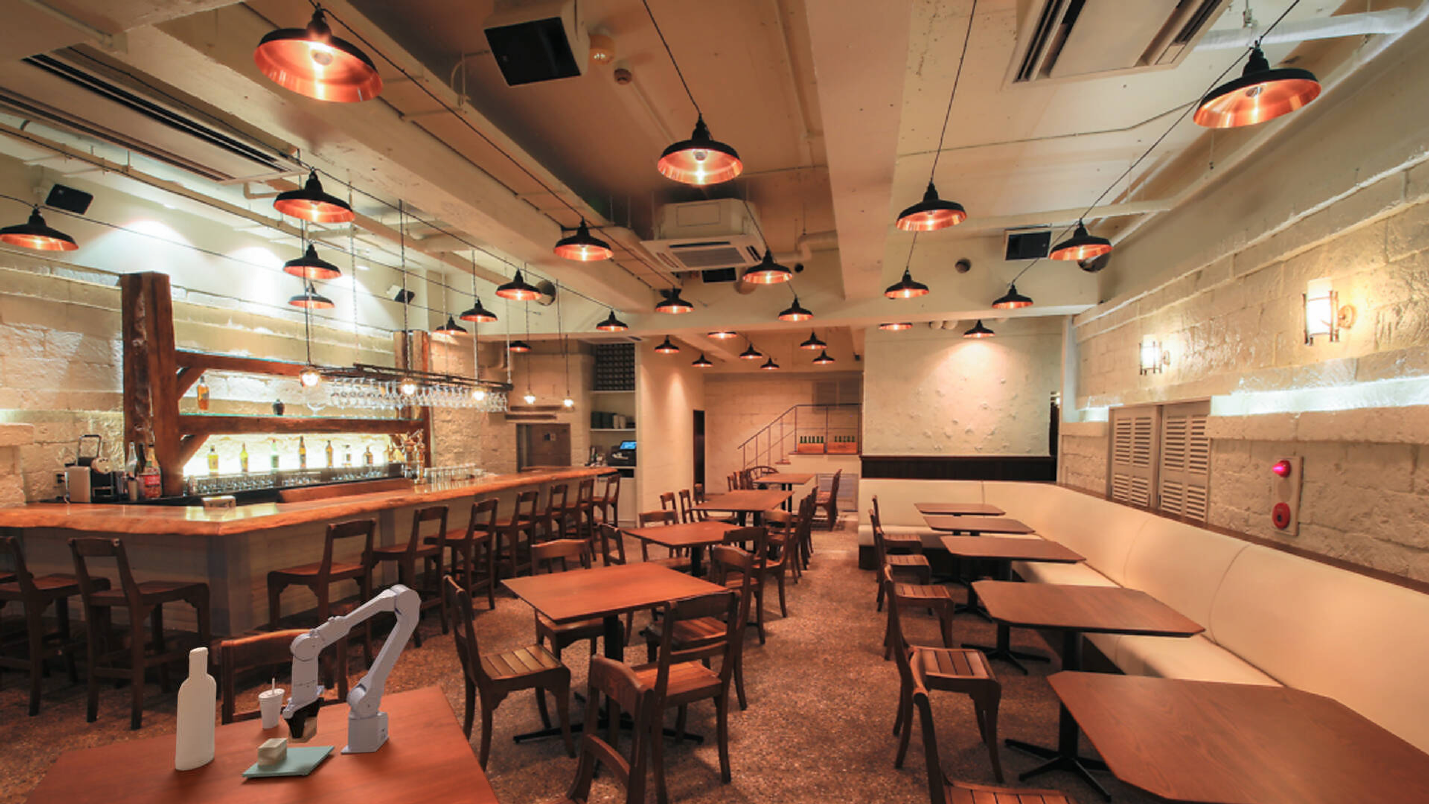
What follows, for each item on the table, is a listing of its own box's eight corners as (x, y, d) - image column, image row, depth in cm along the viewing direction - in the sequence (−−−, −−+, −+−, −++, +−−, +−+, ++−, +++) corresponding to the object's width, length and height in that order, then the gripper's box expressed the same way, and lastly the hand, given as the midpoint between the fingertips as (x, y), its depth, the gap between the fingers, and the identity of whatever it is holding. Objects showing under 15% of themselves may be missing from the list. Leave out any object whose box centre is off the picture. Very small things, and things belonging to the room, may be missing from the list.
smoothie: (269, 732, 173) (270, 684, 173) (251, 730, 174) (253, 682, 175) (289, 721, 179) (290, 675, 180) (271, 719, 180) (273, 673, 181)
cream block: (286, 755, 157) (287, 738, 157) (275, 764, 153) (275, 747, 153) (269, 755, 157) (269, 738, 157) (257, 765, 152) (258, 747, 153)
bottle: (213, 764, 156) (216, 650, 158) (173, 774, 152) (177, 657, 153) (215, 751, 163) (218, 641, 164) (177, 761, 158) (181, 648, 159)
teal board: (334, 752, 162) (334, 745, 162) (307, 778, 150) (307, 771, 150) (273, 755, 161) (274, 748, 161) (241, 781, 149) (242, 774, 149)
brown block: (316, 733, 158) (317, 716, 158) (306, 742, 153) (306, 725, 153) (299, 734, 157) (299, 717, 157) (288, 743, 153) (288, 726, 153)
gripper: (306, 670, 163) (304, 720, 162) (270, 693, 148) (268, 748, 148) (332, 669, 163) (331, 719, 163) (299, 692, 149) (297, 747, 148)
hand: (303, 733), depth 155 cm, fingers closed on brown block, 4 cm apart
